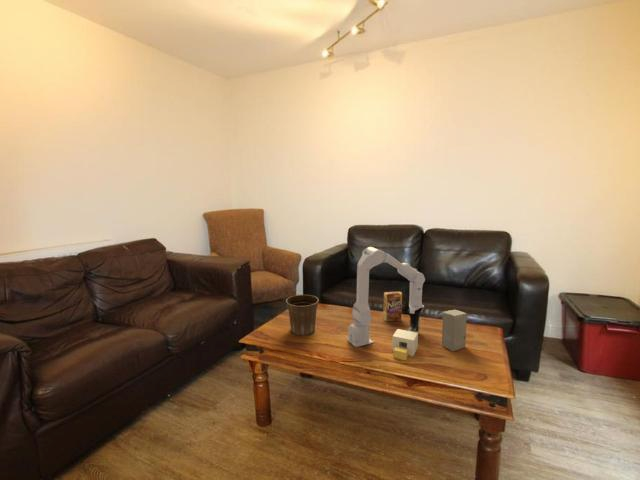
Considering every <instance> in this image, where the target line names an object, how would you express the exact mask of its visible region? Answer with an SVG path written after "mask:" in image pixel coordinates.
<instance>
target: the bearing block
mask: <svg viewBox="0 0 640 480" xmlns="http://www.w3.org/2000/svg"><path fill="white" fill-rule="evenodd" d="M418 340H419V332H411V331H408V330H405V329H399V328H397V329H396V330H395V332H394V334H393V335H392V344H391V345H392V347H391V348H392V350H391V351H392V352H393V353H394V349H395V347H399V348H403V349H408V354H407V356H412V357H414V356H415V354H416V352H417V349H418V346H419V345H418V344H419V343H418V342H419V341H418ZM402 342H404V343H407V346H404V345H402Z"/></svg>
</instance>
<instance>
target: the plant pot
mask: <svg viewBox="0 0 640 480" xmlns="http://www.w3.org/2000/svg"><path fill="white" fill-rule="evenodd" d="M319 301H320V300H319V298H318V297H317V296H315V295H311V294H297V295H292V296H289V297H288V298H286V299H285V302H286V305H287V311H288V316H289V325H290V331H291V333H292V334H295V335H296V336H308V335H311V334H313V333H314V332H315V331H316V322H317V319H316V318H317V309H318V305H319Z"/></svg>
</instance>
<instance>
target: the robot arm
mask: <svg viewBox="0 0 640 480" xmlns="http://www.w3.org/2000/svg"><path fill="white" fill-rule="evenodd" d="M382 263H385V264H386V263H387V264H389V265H390V266H392V267H394V268H396V269H397V273H398V274H400V275H401V276H402V277H404V278H405V279H407V280H408V281H409V294H408V295H409V296H408V297H409V300H408V307H409V308H408V309H407V313H408V315H409V318H410V319H411V324H413V325H416V324H417V319H420V315H421V312H422V310H423V309H424V308H425V305H424V304H423V302H422V300H423V297H422V296H423V286H424V283H425V281H426V278H425V275H424V273H422V272H420V271H418V268H414V267H412V266H411V264H410V263H408V262H402V263H401V262H400V261H399V260H398V259H396V258H395V257H394V256H392V255H391V254H389V253H388V252H385V251H383V249H378V248H375V247H373V246H368V247H366V248H365V249H364V250H362V255H361V256H360V259H359V260H358V262H357V267H356V301H355V303H354V304H353V307H352V310H351V316H352V318H353V323H352V324H349V325H348V327H347V339H346V340H347V342H349V343H350V344H351V345H353V346H354V347H356V348H357V347H361V346H366V345H370V344H373V343H374V341H373V340H372V339H370V324H371V323H372V321H373V318H372V314H371V307H370V306H369V288H370V287H369V285H370V270H371V269H373V268H374V267H376V266H379V265H381V264H382ZM410 319H409V320H410Z"/></svg>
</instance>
